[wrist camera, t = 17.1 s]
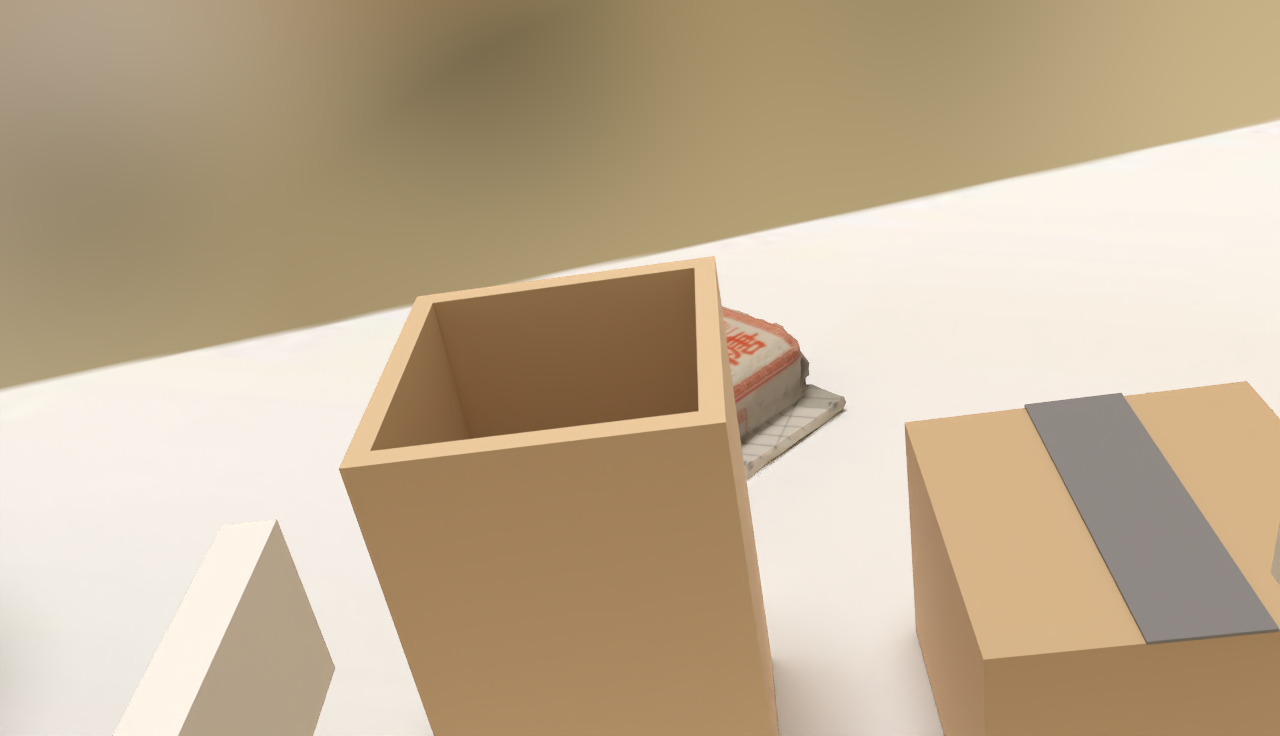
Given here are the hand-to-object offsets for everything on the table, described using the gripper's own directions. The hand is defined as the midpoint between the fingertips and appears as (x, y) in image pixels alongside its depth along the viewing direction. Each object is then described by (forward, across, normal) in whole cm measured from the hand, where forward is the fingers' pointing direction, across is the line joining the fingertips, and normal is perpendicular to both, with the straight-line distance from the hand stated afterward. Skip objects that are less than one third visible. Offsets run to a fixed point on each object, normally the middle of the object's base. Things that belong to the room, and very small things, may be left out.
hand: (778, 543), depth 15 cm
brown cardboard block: (+13, +10, -20) cm, 26 cm away
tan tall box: (+14, -5, -20) cm, 25 cm away
